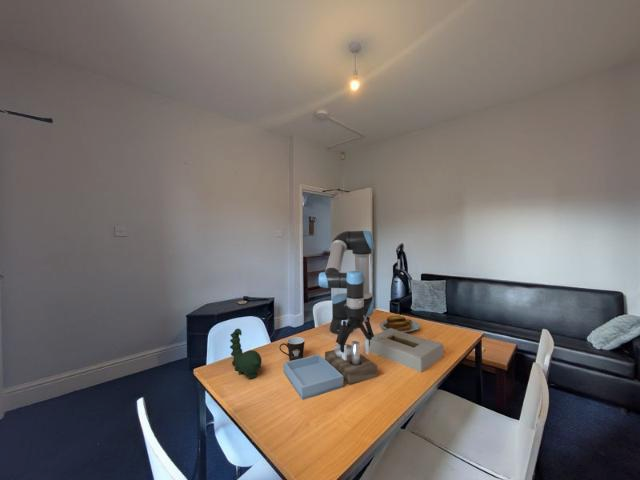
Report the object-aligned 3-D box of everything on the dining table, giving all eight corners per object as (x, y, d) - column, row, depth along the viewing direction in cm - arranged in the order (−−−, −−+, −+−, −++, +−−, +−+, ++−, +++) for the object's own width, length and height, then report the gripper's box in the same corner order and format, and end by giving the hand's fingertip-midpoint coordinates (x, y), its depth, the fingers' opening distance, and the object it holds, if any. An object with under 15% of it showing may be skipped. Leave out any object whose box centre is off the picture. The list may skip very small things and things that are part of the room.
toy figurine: (225, 369, 124) (249, 387, 105) (223, 329, 125) (246, 339, 106) (244, 363, 130) (269, 379, 111) (242, 324, 131) (267, 333, 112)
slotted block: (364, 351, 140) (421, 374, 116) (364, 336, 140) (421, 356, 116) (389, 340, 155) (444, 358, 131) (389, 327, 155) (444, 342, 131)
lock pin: (350, 373, 116) (350, 342, 116) (356, 371, 118) (356, 340, 118) (354, 377, 113) (354, 345, 113) (361, 375, 115) (361, 343, 114)
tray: (283, 372, 117) (283, 362, 117) (319, 363, 125) (319, 354, 125) (302, 399, 98) (302, 387, 98) (343, 387, 106) (343, 376, 106)
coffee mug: (307, 357, 131) (307, 338, 131) (300, 366, 123) (300, 345, 123) (286, 354, 135) (286, 335, 135) (278, 362, 127) (278, 342, 127)
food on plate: (413, 338, 155) (413, 327, 155) (374, 330, 170) (374, 320, 170) (424, 326, 176) (424, 316, 176) (388, 319, 190) (388, 310, 190)
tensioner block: (325, 362, 127) (324, 345, 127) (349, 356, 133) (349, 340, 133) (349, 385, 107) (349, 365, 107) (377, 376, 113) (376, 358, 113)
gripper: (336, 312, 106) (336, 365, 107) (382, 305, 117) (382, 354, 117) (327, 308, 113) (328, 358, 113) (371, 301, 123) (371, 347, 124)
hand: (355, 356), depth 115 cm, fingers open, 11 cm apart
